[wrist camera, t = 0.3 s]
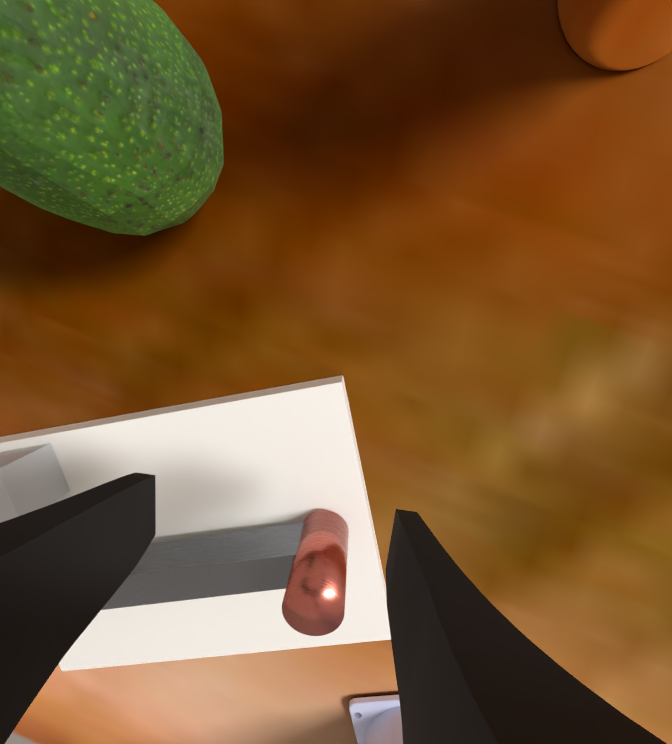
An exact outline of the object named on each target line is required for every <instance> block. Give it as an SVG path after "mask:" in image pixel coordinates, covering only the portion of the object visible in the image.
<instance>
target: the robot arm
mask: <svg viewBox="0 0 672 744" xmlns="http://www.w3.org/2000/svg"><path fill="white" fill-rule="evenodd" d="M155 535H156V486H155V475H151V474H144V473H137V472H135V473H132V474H129V475H126V476H123V477H120V478H117V479H115V480H112V481H109V482H107V483H104V484H102V485H99V486H97V487H94V488H92V489H89V490H87V491H84V492H82V493H79V494H77V495H74V496H72V497H69V498H66V499H64V500H61V501H59V502H56V503H54V504H51V505H48V506H45V507H43V508H40V509H37V510H34V511H32V512H29V513H26V514H24V515H21V516H18V517H15V518H13V519H10V520H7V521H4V522H1V523H0V744H5V742H6V741H7V739H8V738H9V736H10V734H11V733H12V731H13V730H14V728H15V727H16V725H17V724H18V722H19V721H20V719H21V718H22V716H23V715H24V713H25V712H26V710H27V709H28V707H29V706H30V704H31V703H32V701H33V700H34V698H35V697H36V696H37V694H38V693H39V691H40V690H41V688H42V687H43V685H44V684H45V682H46V681H47V679H48V678H49V677H50V675H51V674H52V672H53V671H54V669H55V668H56V666H57V665H58V664H59V662H60V661H61V660H62V658H63V657H64V656H65V654H66V653H67V652H68V650H69V649H70V648H71V646H72V645H73V644H74V643H75V641H76V640H77V639H78V638H79V636H80V635H81V634H82V633H83V632H84V630H85V629H86V628H87V627H88V625H89V624H90V623H91V622H92V620H93V619H94V618H95V617H96V616H97V614H98V613H99V612H100V611H101V609H102V608H103V607H104V606H105V604H106V603H107V602H108V601H109V600H110V598H111V597H112V596H113V595H114V593H115V592H116V591H117V590H118V588H119V587H120V586H121V585H122V583H123V582H124V581H125V580H126V578H127V577H128V576H129V575H130V573H131V572H132V571H133V569H134V568H135V567H136V565H137V564H138V562H139V561H140V559H141V558H142V556H143V555H144V553H145V551H146V550H147V548H148V546H149V545H150V543H151V541H152V540H153V538H154V536H155ZM386 598H387V612H388V619H389V627H390V634H391V642H392V649H393V656H394V663H395V671H396V678H397V685H398V693H399V695H386V696H374V697H361V698H353V699H352V700H350V702H349V711H350V715H351V719H352V723H353V727H354V731H355V735H356V739H357V743H358V744H666V743H665V742H663V741H662V740H660V739H659V738H657V737H656V736H655V735H653V734H652V733H650V732H649V731H647V730H646V729H644V728H643V727H641V726H640V725H638V724H637V723H635V722H634V721H632V720H631V719H629V718H628V717H626V716H625V715H624V714H622V713H621V712H620V711H618V710H617V709H615V708H614V707H613V706H611V705H610V704H609V703H607V702H606V701H605V700H603V699H602V698H601V697H599V696H598V695H597V694H595V693H594V692H593V691H591V690H590V689H589V688H587V687H586V686H585V685H583V684H582V683H581V682H580V681H578V680H577V679H576V678H574V677H573V676H572V675H571V674H569V673H568V672H567V671H566V670H564V669H563V668H562V667H561V666H559V665H558V664H557V663H556V662H555V661H554V660H552V659H551V658H550V657H549V656H548V655H546V654H545V653H544V652H543V651H542V650H541V649H539V648H538V647H537V646H536V645H535V644H534V643H532V642H531V641H530V640H529V639H528V638H527V637H526V636H525V635H523V634H522V633H521V632H520V631H519V630H518V629H517V628H516V627H515V626H514V625H513V624H512V623H511V622H510V621H509V620H508V619H507V618H506V617H504V616H503V615H502V614H501V613H500V612H499V611H498V610H497V609H496V608H495V607H494V606H493V605H492V604H491V603H490V602H489V601H488V600H487V599H486V597H485V596H484V595H483V594H482V593H481V592H480V591H479V590H478V589H477V588H476V587H475V585H474V584H473V583H472V582H471V581H470V580H469V579H468V578H467V576H466V575H465V574H464V573H463V572H462V571H461V569H460V568H459V567H458V566H457V565H456V563H455V562H454V561H453V560H452V558H451V557H450V556H449V555H448V553H447V552H446V551H445V549H444V548H443V547H442V545H441V544H440V543H439V541H438V540H437V539H436V537H435V536H434V535H433V533H432V532H431V531H430V529H429V528H428V526H427V525H426V524H425V522H424V521H423V520H422V518H421V517H420V516H419V514H418V513H417V512H412V511H405V510H398V509H396V512H395V518H394V524H393V530H392V535H391V541H390V547H389V553H388V559H387V565H386Z"/></svg>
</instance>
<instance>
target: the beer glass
mask: <svg viewBox="0 0 672 744" xmlns="http://www.w3.org/2000/svg"><path fill="white" fill-rule="evenodd" d="M557 6H558V16H559V21H560V25H561V28H562V31H563V34H564V36H565V38H566V40H567V42H568V43H569V45H570V46H571V48H572V49H573V50H574V52H575V53H576V54H577V55H578V56H579V57H581V58H582V59H583V60H584V61H586V62H587V63H589V64H591V65H593V66H595V67H598V68H601V69H605V70H610V71H627V70H633V69H637V68H640V67H643V66H646V65H648V64H651V63H653V62H655V61H657V60H659V59H661V58H662V57H664V56H665V55H667V54H668V53H670V52H671V51H672V0H557Z"/></svg>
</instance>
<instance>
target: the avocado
mask: <svg viewBox="0 0 672 744" xmlns="http://www.w3.org/2000/svg"><path fill="white" fill-rule="evenodd" d="M223 165H224V154H223V132H222V111H221V109H220V106H219V103H218V100H217V97H216V94H215V91H214V88H213V86H212V83H211V80H210V77H209V74H208V71H207V69H206V67H205V66H204V64H203V62H202V60H201V58H200V57H199V55H198V54H197V53H196V51H195V50H194V49H193V47H192V46H191V45H190V44H189V42H188V41H187V40H186V38H185V37H184V36H183V35H182V33H181V32H180V31H179V30H178V28H177V27H176V26H175V24H174V23H173V22H172V21H171V19H170V18H169V17H168V16H167V14H166V13H165V12H164V10H163V9H161V8H160V7H159V6H158V5H157V4H156V3H155V2H154V1H153V0H0V187H2V188H3V189H5V190H7V191H9V192H11V193H13V194H15V195H16V196H18V197H20V198H22V199H24V200H26V201H28V202H30V203H31V204H33V205H35V206H37V207H39V208H41V209H44V210H46V211H49V212H51V213H54V214H57V215H59V216H62V217H64V218H67V219H70V220H72V221H75V222H79V223H82V224H85V225H88V226H91V227H95V228H98V229H101V230H104V231H107V232H111V233H118V234H130V235H143V236H146V235H149V234H152V233H155V232H158V231H161V230H164V229H167V228H170V227H173V226H177V225H180V224H183V223H184V222H185V221H187V220H188V219H190V218H191V217H192V216H193V215H194V214H195V213H196V212H197V211H198V210H199V209H200V208H201V206H202V205H203V204H204V203H205V201H206V200H207V199H208V198H209V196H210V195H211V194H212V193H213V191H214V189H215V186H216V183H217V181H218V178H219V175H220V173H221V170H222V167H223Z"/></svg>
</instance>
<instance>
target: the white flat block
mask: <svg viewBox="0 0 672 744" xmlns="http://www.w3.org/2000/svg"><path fill="white" fill-rule="evenodd" d="M135 472H137V473H144V474H151V475H155V486H156V535H155V536H154V538H153V540H152V541H151V543H157V542H164V541H171V540H178V539H186V538H193V537H200V536H208V535H215V534H222V533H230V532H237V531H244V530H252V529H259V528H266V527H274V526H281V525H288V524H296V523H303V521H304V519H305V518H306V517H307V516H308V515H309V514H311V513H312V512H315V511H318V510H330V511H333V512H335V513H337V514H339V515H340V516H341V517H342V518H343V519H344V520H345V521H346V523H347V525H348V530H349V536H348V555H347V575H346V594H345V613H344V619H343V621H342V623H341V625H340V626H339V627H338V628H337V629H336V630H335V631H333V632H331V633H329V634H327V635H323V636H309V635H305V634H302V633H300V632H298V631H296V630H294V629H293V628H292V627H291V626H290V625H289V624H288V623H287V622H286V620H285V619H284V616H283V614H282V602H283V598H284V594H285V590H286V589H278V590H269V591H261V592H252V593H243V594H235V595H226V596H218V597H209V598H200V599H192V600H183V601H175V602H166V603H157V604H149V605H140V606H132V607H123V608H115V609H106V610H101V611H100V612H99V613H98V614H97V616H96V617H95V618H94V619H93V620H92V622H91V623H90V624H89V625H88V627H87V628H86V629H85V630H84V632H83V633H82V634H81V635H80V636H79V638H78V639H77V640H76V641H75V643H74V644H73V645H72V646H71V648H70V649H69V650H68V652H67V653H66V654H65V656H64V657H63V658H62V660H61V661H60V662H59V666H60V668H61V670H62V671H70V670H81V669H91V668H101V667H111V666H122V665H132V664H142V663H153V662H163V661H173V660H184V659H194V658H204V657H214V656H225V655H235V654H245V653H256V652H266V651H276V650H286V649H297V648H307V647H317V646H328V645H338V644H348V643H358V642H369V641H379V640H389V639H391V634H390V627H389V619H388V612H387V598H386V585H385V580H384V575H383V570H382V565H381V560H380V555H379V550H378V545H377V540H376V536H375V531H374V526H373V521H372V516H371V511H370V506H369V501H368V496H367V491H366V486H365V481H364V476H363V471H362V466H361V462H360V457H359V452H358V447H357V442H356V437H355V432H354V427H353V422H352V417H351V412H350V407H349V402H348V397H347V392H346V388H345V383H344V378H343V375H341V376H335V377H329V378H324V379H318V380H313V381H307V382H302V383H296V384H291V385H285V386H280V387H274V388H269V389H263V390H258V391H252V392H246V393H241V394H235V395H230V396H224V397H219V398H213V399H208V400H202V401H197V402H191V403H186V404H180V405H175V406H169V407H163V408H158V409H152V410H147V411H141V412H136V413H130V414H125V415H119V416H114V417H108V418H103V419H97V420H91V421H86V422H80V423H75V424H69V425H64V426H58V427H53V428H47V429H42V430H36V431H31V432H25V433H20V434H14V435H8V436H3V437H0V523H1V522H4V521H7V520H10V519H13V518H15V517H18V516H21V515H24V514H26V513H29V512H32V511H34V510H37V509H40V508H43V507H45V506H48V505H51V504H54V503H56V502H59V501H61V500H64V499H66V498H69V497H72V496H74V495H77V494H79V493H82V492H84V491H87V490H89V489H92V488H94V487H97V486H99V485H102V484H104V483H107V482H109V481H112V480H115V479H117V478H120V477H123V476H126V475H129V474H132V473H135Z"/></svg>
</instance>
